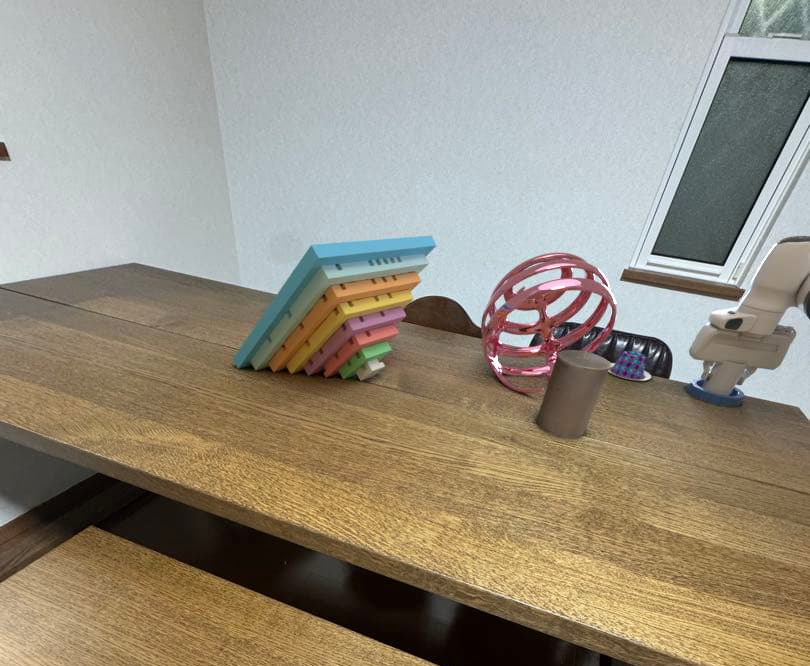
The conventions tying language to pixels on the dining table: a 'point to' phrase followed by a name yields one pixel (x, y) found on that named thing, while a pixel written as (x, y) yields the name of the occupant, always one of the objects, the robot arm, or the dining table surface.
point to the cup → (724, 377)
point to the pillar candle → (572, 393)
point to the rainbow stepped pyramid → (338, 308)
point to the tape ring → (714, 394)
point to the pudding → (631, 366)
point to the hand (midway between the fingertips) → (720, 382)
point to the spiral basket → (543, 313)
